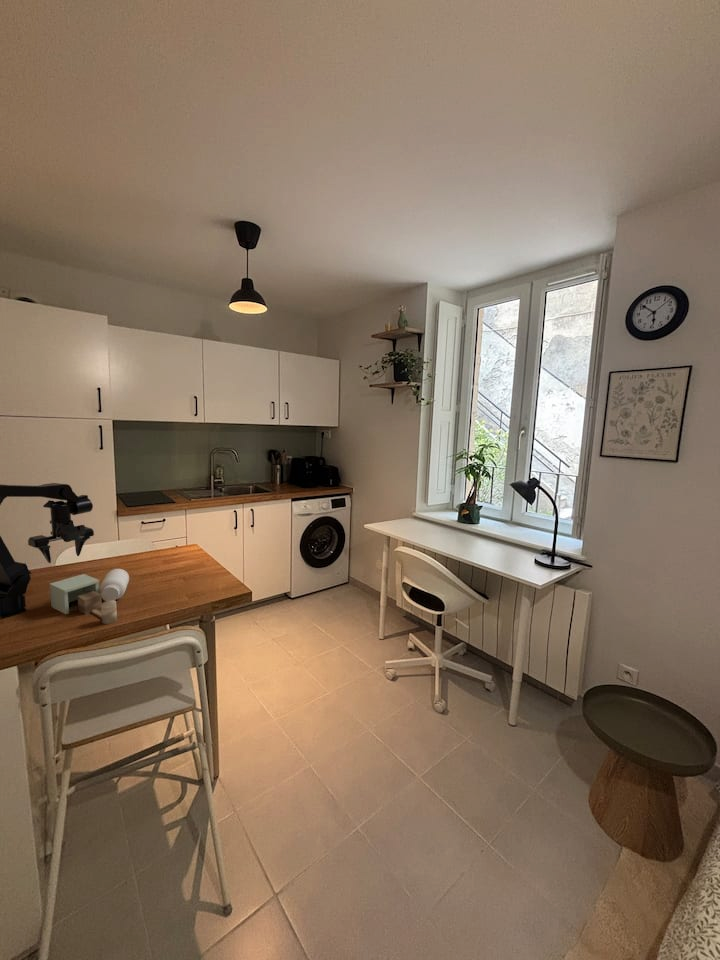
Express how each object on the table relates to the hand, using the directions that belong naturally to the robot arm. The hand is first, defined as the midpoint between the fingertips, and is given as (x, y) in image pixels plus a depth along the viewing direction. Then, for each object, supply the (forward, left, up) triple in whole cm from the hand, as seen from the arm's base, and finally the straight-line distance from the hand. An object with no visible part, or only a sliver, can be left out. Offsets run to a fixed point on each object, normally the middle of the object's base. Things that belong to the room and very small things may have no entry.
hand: (64, 559), depth 145 cm
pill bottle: (+11, -13, -8) cm, 19 cm away
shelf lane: (-4, -16, -12) cm, 20 cm away
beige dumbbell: (-4, -29, -12) cm, 32 cm away
